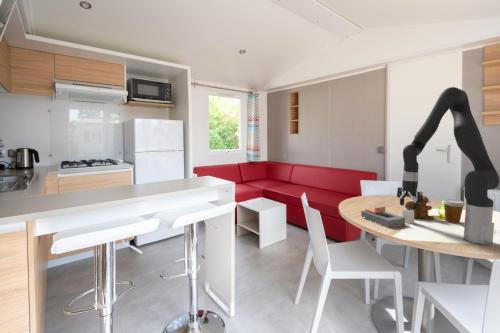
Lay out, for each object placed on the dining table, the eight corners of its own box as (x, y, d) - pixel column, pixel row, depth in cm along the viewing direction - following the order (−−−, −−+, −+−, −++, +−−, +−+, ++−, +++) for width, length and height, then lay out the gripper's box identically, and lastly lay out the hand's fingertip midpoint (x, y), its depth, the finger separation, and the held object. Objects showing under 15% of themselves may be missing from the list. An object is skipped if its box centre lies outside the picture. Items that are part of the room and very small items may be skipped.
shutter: (385, 212, 149) (385, 206, 149) (375, 213, 147) (376, 207, 147) (373, 208, 157) (374, 203, 157) (365, 210, 155) (365, 204, 155)
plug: (413, 222, 143) (414, 208, 143) (408, 223, 142) (409, 209, 141) (407, 220, 147) (408, 206, 146) (402, 221, 146) (402, 207, 145)
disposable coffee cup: (451, 218, 149) (452, 198, 148) (467, 223, 139) (469, 202, 138) (437, 219, 147) (438, 199, 146) (453, 225, 138) (454, 203, 137)
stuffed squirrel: (435, 219, 148) (437, 197, 146) (411, 220, 148) (413, 198, 146) (424, 214, 158) (425, 194, 156) (401, 214, 158) (402, 194, 156)
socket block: (404, 224, 140) (405, 217, 139) (388, 227, 136) (388, 220, 136) (376, 214, 159) (376, 208, 158) (361, 217, 155) (361, 210, 155)
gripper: (427, 181, 137) (425, 209, 139) (404, 177, 150) (402, 203, 152) (417, 182, 134) (415, 211, 136) (394, 177, 148) (393, 204, 150)
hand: (408, 207), depth 144 cm, fingers open, 8 cm apart
